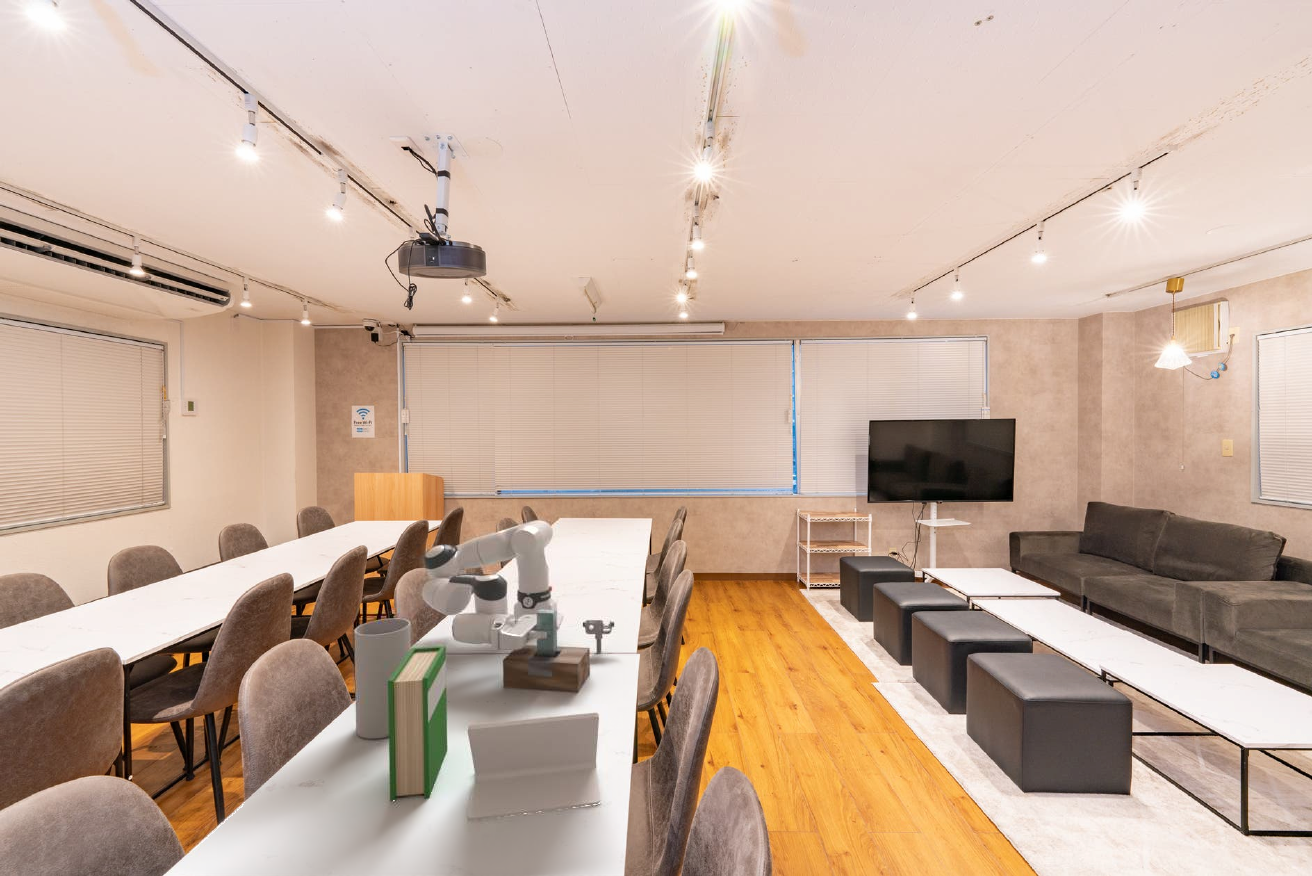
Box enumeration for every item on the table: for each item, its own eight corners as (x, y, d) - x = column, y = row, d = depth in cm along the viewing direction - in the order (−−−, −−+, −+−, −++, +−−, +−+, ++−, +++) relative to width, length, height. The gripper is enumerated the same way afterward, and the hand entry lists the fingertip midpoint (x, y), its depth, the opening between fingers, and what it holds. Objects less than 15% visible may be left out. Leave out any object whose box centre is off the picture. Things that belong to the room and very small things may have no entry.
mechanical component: (613, 653, 190) (613, 622, 190) (582, 653, 190) (582, 623, 190) (614, 650, 193) (614, 619, 193) (584, 650, 193) (583, 620, 193)
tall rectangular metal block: (540, 660, 171) (540, 609, 171) (557, 661, 171) (556, 610, 170) (537, 664, 168) (536, 612, 168) (553, 665, 168) (553, 613, 167)
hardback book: (429, 798, 116) (427, 678, 116) (390, 802, 115) (387, 680, 114) (447, 750, 133) (445, 645, 133) (413, 753, 132) (411, 648, 132)
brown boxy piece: (519, 670, 177) (519, 644, 177) (589, 674, 174) (589, 647, 174) (503, 687, 165) (502, 659, 165) (578, 692, 162) (577, 663, 162)
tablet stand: (601, 805, 113) (600, 718, 113) (467, 823, 109) (465, 732, 108) (594, 755, 131) (593, 679, 131) (478, 768, 126) (477, 690, 126)
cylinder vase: (400, 710, 153) (398, 615, 152) (420, 727, 144) (418, 626, 144) (349, 727, 144) (347, 627, 144) (366, 746, 135) (364, 639, 135)
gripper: (518, 628, 182) (561, 630, 180) (489, 653, 162) (537, 656, 159) (518, 608, 182) (561, 610, 179) (489, 630, 162) (537, 633, 159)
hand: (549, 631), depth 169 cm, fingers closed on tall rectangular metal block, 3 cm apart
